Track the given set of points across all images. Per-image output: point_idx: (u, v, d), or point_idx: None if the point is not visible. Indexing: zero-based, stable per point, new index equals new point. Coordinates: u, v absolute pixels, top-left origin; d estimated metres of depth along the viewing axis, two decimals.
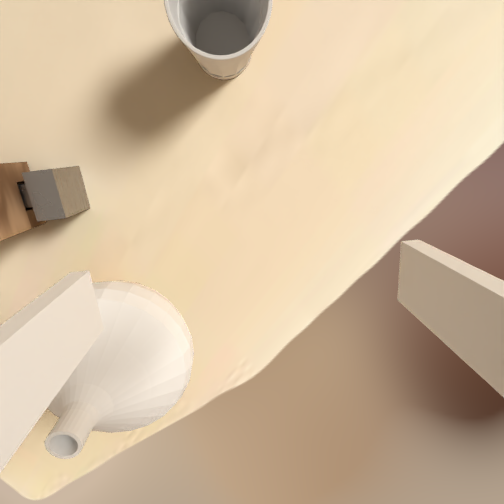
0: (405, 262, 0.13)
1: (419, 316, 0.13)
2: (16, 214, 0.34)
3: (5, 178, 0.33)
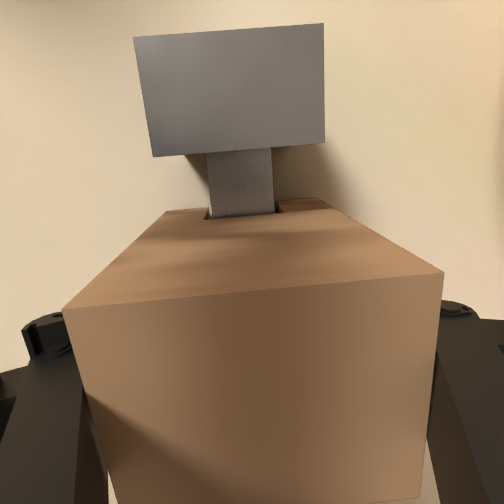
0: None
1: None
2: (293, 221, 0.11)
3: (184, 230, 0.11)
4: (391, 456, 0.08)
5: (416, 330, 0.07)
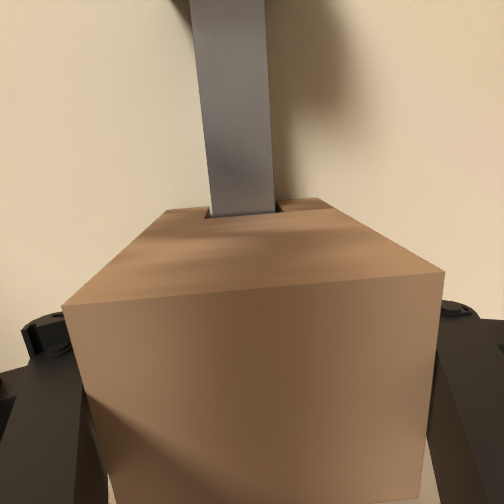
0: None
1: None
2: (293, 221, 0.11)
3: (185, 229, 0.11)
4: (390, 456, 0.07)
5: (417, 329, 0.06)
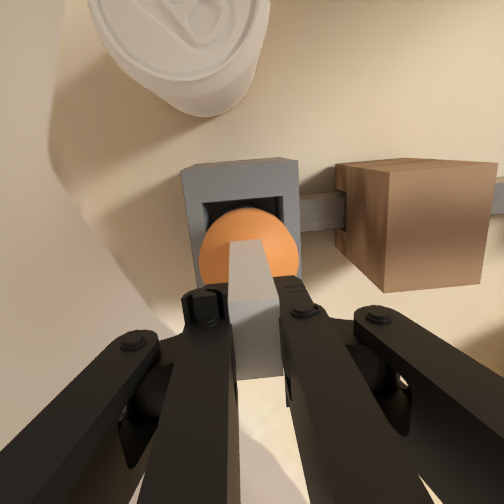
0: None
1: None
2: None
3: None
4: (408, 279, 0.19)
5: (461, 279, 0.20)
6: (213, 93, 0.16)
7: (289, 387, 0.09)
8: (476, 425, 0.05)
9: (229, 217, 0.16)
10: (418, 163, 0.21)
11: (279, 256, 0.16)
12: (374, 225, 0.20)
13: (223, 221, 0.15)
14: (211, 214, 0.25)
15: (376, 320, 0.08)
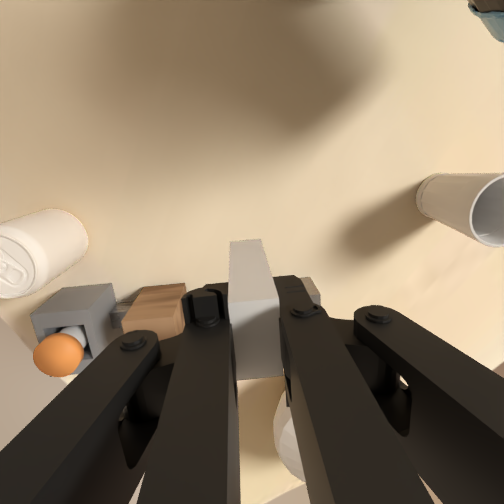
0: None
1: None
2: None
3: None
4: None
5: None
6: (29, 294, 0.36)
7: (289, 387, 0.09)
8: (476, 425, 0.05)
9: (44, 341, 0.37)
10: (159, 303, 0.41)
11: (68, 356, 0.38)
12: None
13: (41, 343, 0.37)
14: None
15: (376, 320, 0.08)
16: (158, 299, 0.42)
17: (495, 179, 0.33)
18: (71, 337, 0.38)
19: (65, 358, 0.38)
